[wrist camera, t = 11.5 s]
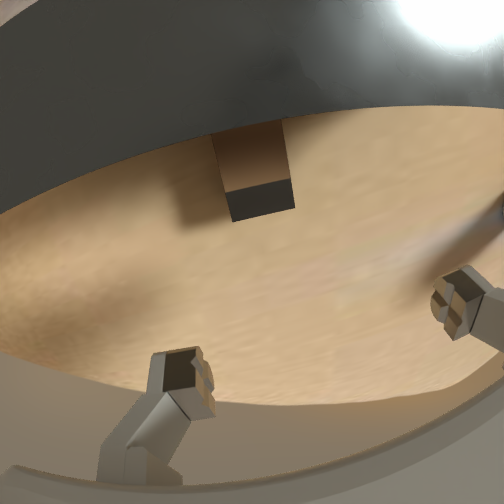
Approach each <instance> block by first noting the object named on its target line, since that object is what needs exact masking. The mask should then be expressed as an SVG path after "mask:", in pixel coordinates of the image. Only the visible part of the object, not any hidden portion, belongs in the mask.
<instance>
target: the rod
mask: <svg viewBox="0 0 504 504" xmlns="http://www.w3.org/2000/svg"><path fill="white" fill-rule="evenodd" d="M211 137H212V141H213V145H214V149H215V153H216V157H217V161H218V165H219V169H220V174H221V178H222V182H223V186H224V190H225V194H226V198H227V202H228V206H229V210H230V214H231V218H232V222H236V221H240V220H245V219H249V218H253V217H257V216H262V215H266V214H271V213H275V212H279V211H284V210H288V209H293V208H295V203H294V197H293V190H292V183H291V177H290V171H289V164H288V158H287V152H286V146H285V141H284V135H283V129H282V124H281V119H277V120H272V121H266V122H261V123H256V124H251V125H246V126H242V127H237V128H233V129H228V130H224V131H220V132H216V133H211Z"/></svg>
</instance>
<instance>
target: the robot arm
mask: <svg viewBox="0 0 504 504" xmlns="http://www.w3.org/2000/svg"><path fill="white" fill-rule="evenodd" d="M433 287H434V288H435V292H434V293H433V295H432V296H431V302H430V306H431V311H432V313H433V315H434V317H435V318H436V320H437V321H439V322H441V323H444V330H445V331H446V332H447V334H448V335H449V336H450V338H451V339H452V340H453V341H455V340H457V339H459V338H461V337H463V336H465V335H467V334H469V333H470V334H471V335H472V336H474V337H476V338H478V339H480V340H481V341H483V342H485V343H487V344H489V345H490V346H492V347H494V348H496V349H497V350H499V351H501V352H503V353H504V289H501V288H498V287H497V288H494V287H493V286H492V285H491V284H490V283H489V282H488V281H487V280H486V279H485V278H484V277H483V276H481V275H480V274H479V273H478V272H477V271H476V270H475V269H474V268H473V267H471V266H469V265H465V266H463V267H461V268H458V269H456V270H453V271H451V272H448V273H446V274H444V275H441V276H439V277H437V278H436V279H435V281H434V286H433ZM502 368H503V369H504V362H503V364H502ZM213 390H214V380H213V375H212V371H211V368H210V366H209V364H208V362H207V361H205V360H203V352H202V350H201V349H200V347H199V346H194V347H188V348H182V349H176V350H169V351H164V352H157V353H153V355H152V357H151V362H150V368H149V375H148V383H147V390H146V394H144V395H141V397H140V398H139V399H138V400H137V401H136V403H135V404H134V405H133V406H132V408H131V409H130V410H129V412H128V413H127V414H126V415H125V416H124V417H123V419H122V420H121V421H120V423H119V424H118V425H117V426H116V427H115V429H114V430H113V431H112V432H111V433H110V435H109V436H108V437H107V438H106V440H105V441H104V442H103V443H102V445H101V449H100V455H99V462H98V470H97V478H96V481H90V480H84V479H77V478H71V477H66V476H60V475H55V474H51V473H47V472H42V471H38V470H35V469H31V468H27V467H24V466H20V465H12V466H10V467H9V468H8V469H6V470H5V471H4V472H3V473H2V474H1V475H0V504H504V376H503V377H502V378H500V379H499V380H498V381H496V382H495V383H493V384H492V385H490V386H489V387H488V388H486V389H484V390H483V391H481V392H480V393H478V394H477V395H475V396H474V397H472V398H470V399H469V400H467V401H466V402H464V403H462V404H461V405H459V406H457V407H456V408H454V409H452V410H450V411H448V412H447V413H445V414H443V415H441V416H439V417H437V418H436V419H434V420H432V421H430V422H428V423H426V424H424V425H422V426H420V427H418V428H416V429H414V430H411V431H409V432H407V433H405V434H403V435H400V436H398V437H396V438H393V439H391V440H389V441H386V442H384V443H381V444H379V445H376V446H374V447H371V448H368V449H366V450H363V451H360V452H357V453H354V454H352V455H349V456H345V457H342V458H339V459H336V460H333V461H330V462H326V463H322V464H319V465H315V466H311V467H307V468H303V469H299V470H295V471H291V472H286V473H282V474H276V475H271V476H266V477H260V478H254V479H247V480H240V481H232V482H224V483H212V484H199V485H183V479H182V478H183V477H182V475H181V474H180V473H179V472H177V471H176V470H174V469H173V468H171V467H170V466H168V463H169V462H170V460H171V458H172V456H173V455H174V453H175V451H176V449H177V447H178V446H179V444H180V442H181V440H182V438H183V437H184V435H185V433H186V431H187V429H188V427H189V426H190V424H191V421H194V420H200V419H207V418H213V417H216V409H215V399H214V397H213V396H212V394H211V393H212V391H213Z"/></svg>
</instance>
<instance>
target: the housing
mask: <svg viewBox="0 0 504 504" xmlns="http://www.w3.org/2000/svg"><path fill="white" fill-rule="evenodd" d="M420 105H443V106H472V107H487V108H498V109H504V0H38V1H37V2H35V3H34V4H32V5H31V6H29V7H28V8H26V9H25V10H23V11H22V12H20V13H19V14H17V15H16V16H15V17H13V18H12V19H10V20H9V21H8V22H6V23H5V24H4V25H2V26H1V27H0V214H2V213H3V212H5V211H7V210H9V209H11V208H13V207H15V206H17V205H19V204H21V203H23V202H25V201H27V200H29V199H31V198H33V197H35V196H37V195H39V194H41V193H43V192H45V191H47V190H50V189H52V188H54V187H56V186H58V185H61V184H63V183H65V182H68V181H70V180H72V179H75V178H77V177H80V176H82V175H84V174H87V173H89V172H92V171H95V170H97V169H100V168H102V167H105V166H108V165H110V164H113V163H116V162H119V161H121V160H124V159H127V158H130V157H133V156H136V155H139V154H142V153H145V152H148V151H151V150H154V149H158V148H161V147H164V146H168V145H171V144H174V143H178V142H181V141H185V140H188V139H192V138H196V137H200V136H204V135H207V134H211V133H216V132H220V131H224V130H228V129H233V128H237V127H242V126H246V125H251V124H256V123H261V122H266V121H272V120H277V119H283V118H289V117H295V116H302V115H309V114H316V113H323V112H331V111H340V110H350V109H361V108H374V107H390V106H420Z"/></svg>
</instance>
